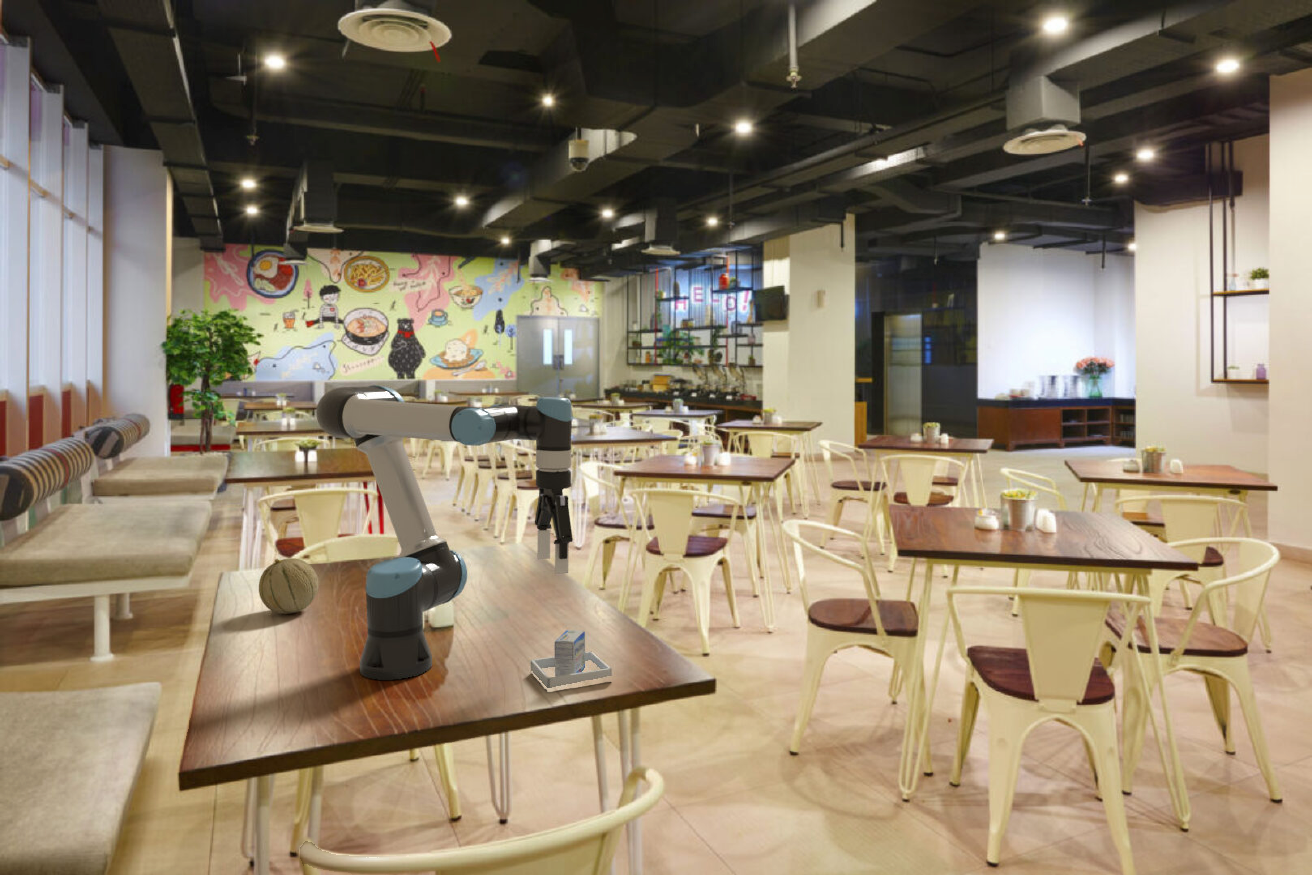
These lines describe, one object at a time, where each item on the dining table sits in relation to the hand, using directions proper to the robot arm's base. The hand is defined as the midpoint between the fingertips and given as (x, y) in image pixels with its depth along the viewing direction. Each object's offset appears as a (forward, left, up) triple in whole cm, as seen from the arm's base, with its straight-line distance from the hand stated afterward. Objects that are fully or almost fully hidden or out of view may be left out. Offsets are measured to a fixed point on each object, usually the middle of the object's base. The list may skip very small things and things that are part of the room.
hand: (552, 565), depth 186 cm
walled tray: (+2, -7, -23) cm, 24 cm away
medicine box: (+2, -7, -22) cm, 24 cm away
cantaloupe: (-51, +69, -23) cm, 89 cm away
